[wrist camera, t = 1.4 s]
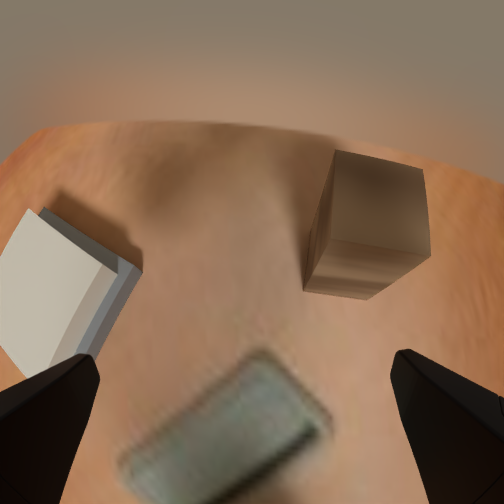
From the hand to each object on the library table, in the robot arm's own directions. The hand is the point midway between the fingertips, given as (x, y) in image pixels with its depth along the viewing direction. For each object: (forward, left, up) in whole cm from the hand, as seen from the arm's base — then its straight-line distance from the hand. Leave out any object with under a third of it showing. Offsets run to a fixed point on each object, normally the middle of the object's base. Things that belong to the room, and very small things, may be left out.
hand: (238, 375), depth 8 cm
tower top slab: (+18, +5, -12) cm, 21 cm away
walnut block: (-2, -10, -13) cm, 17 cm away
